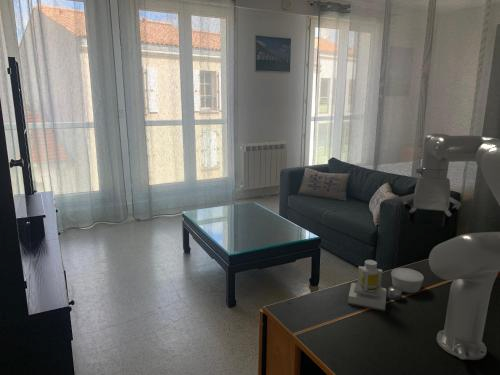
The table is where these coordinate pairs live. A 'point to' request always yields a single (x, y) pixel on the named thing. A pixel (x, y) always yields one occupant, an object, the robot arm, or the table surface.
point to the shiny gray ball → (394, 292)
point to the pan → (361, 291)
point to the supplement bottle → (369, 276)
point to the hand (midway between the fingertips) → (427, 225)
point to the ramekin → (407, 279)
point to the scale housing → (367, 299)
